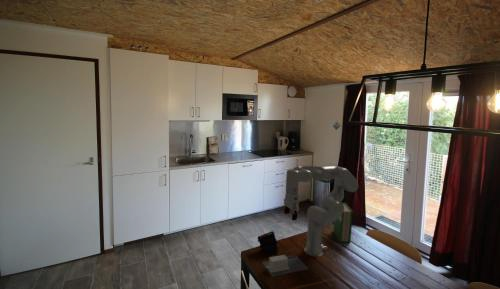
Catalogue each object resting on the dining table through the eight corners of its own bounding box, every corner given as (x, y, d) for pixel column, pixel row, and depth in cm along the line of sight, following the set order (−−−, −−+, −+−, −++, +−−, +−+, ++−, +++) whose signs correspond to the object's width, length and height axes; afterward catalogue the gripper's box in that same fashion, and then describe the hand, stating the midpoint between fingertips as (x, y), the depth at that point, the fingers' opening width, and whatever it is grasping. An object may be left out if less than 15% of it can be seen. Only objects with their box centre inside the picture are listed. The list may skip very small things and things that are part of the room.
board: (296, 257, 163) (296, 250, 162) (308, 270, 150) (309, 263, 149) (261, 264, 155) (262, 256, 154) (271, 278, 142) (271, 270, 141)
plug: (292, 262, 155) (293, 253, 155) (296, 266, 151) (296, 257, 150) (268, 267, 150) (269, 257, 149) (271, 271, 146) (272, 261, 145)
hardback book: (350, 243, 183) (352, 211, 180) (339, 242, 184) (342, 210, 181) (343, 231, 201) (345, 202, 198) (333, 231, 201) (335, 202, 198)
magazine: (282, 253, 164) (273, 233, 163) (263, 260, 166) (254, 240, 164) (282, 250, 168) (273, 230, 166) (263, 257, 169) (254, 237, 168)
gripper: (304, 193, 148) (303, 221, 150) (290, 185, 164) (289, 210, 166) (293, 194, 146) (292, 223, 148) (280, 186, 162) (278, 211, 164)
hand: (290, 216), depth 157 cm, fingers open, 9 cm apart
